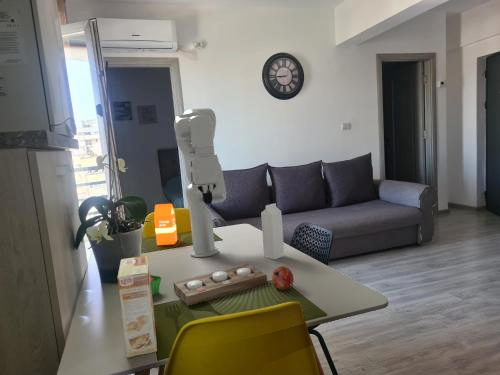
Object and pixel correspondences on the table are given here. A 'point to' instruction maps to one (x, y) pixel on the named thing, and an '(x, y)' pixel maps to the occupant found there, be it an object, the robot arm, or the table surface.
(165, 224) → the orange juice
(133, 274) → the coffeecake box
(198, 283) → the button end
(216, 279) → the button middle
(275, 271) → the pomegranate
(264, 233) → the milk
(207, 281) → the button board
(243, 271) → the button end
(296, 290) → the table surface
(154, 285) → the fruit basket
